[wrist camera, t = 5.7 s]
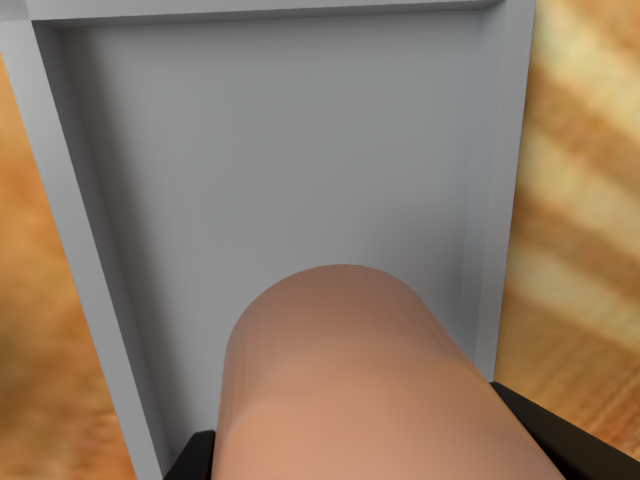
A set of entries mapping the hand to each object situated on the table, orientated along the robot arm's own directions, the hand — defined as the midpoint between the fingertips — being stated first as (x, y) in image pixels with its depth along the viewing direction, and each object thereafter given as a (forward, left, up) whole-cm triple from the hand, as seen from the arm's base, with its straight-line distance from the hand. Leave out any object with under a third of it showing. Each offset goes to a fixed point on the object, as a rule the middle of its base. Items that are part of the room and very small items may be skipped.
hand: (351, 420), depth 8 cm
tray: (0, 0, -9) cm, 9 cm away
